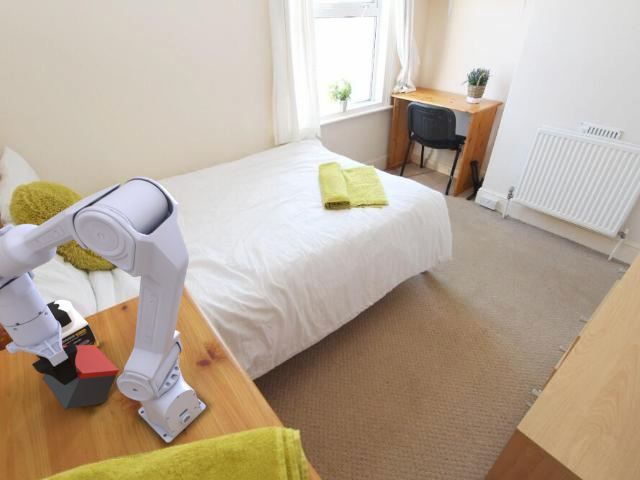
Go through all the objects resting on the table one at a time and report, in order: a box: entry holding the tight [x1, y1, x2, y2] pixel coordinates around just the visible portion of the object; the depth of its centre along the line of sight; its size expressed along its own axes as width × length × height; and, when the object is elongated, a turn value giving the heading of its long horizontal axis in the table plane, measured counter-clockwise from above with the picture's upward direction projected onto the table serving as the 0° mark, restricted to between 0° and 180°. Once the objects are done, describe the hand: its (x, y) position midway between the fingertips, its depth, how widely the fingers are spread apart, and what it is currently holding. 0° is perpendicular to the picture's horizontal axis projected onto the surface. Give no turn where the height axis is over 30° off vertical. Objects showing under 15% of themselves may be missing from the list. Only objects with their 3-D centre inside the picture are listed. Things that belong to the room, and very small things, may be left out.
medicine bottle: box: [46, 299, 100, 348], centre depth 70 cm, size 7×7×12 cm
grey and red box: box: [42, 345, 120, 410], centre depth 62 cm, size 10×7×7 cm
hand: (60, 368), depth 59 cm, fingers open, 7 cm apart
